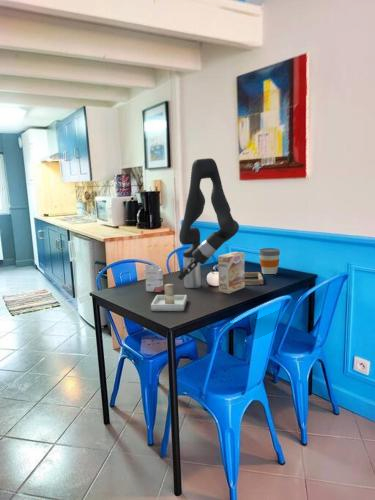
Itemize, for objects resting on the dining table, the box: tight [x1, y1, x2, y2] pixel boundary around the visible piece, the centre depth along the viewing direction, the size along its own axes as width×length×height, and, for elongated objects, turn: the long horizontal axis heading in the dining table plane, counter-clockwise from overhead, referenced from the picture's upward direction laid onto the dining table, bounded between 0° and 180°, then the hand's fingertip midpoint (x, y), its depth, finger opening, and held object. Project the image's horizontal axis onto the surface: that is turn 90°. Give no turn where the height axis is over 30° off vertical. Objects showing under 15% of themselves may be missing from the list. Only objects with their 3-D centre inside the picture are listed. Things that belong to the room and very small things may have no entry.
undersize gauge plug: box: [163, 283, 175, 304], centre depth 178 cm, size 4×4×9 cm
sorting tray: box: [150, 294, 188, 312], centre depth 178 cm, size 15×15×3 cm
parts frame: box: [245, 271, 264, 286], centre depth 219 cm, size 19×19×2 cm
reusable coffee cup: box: [258, 247, 281, 275], centre depth 233 cm, size 13×13×15 cm
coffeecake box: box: [217, 251, 246, 295], centre depth 200 cm, size 15×7×20 cm, turn 137°
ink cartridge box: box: [144, 264, 164, 293], centre depth 204 cm, size 9×5×15 cm, turn 70°
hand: (180, 276), depth 175 cm, fingers open, 8 cm apart
